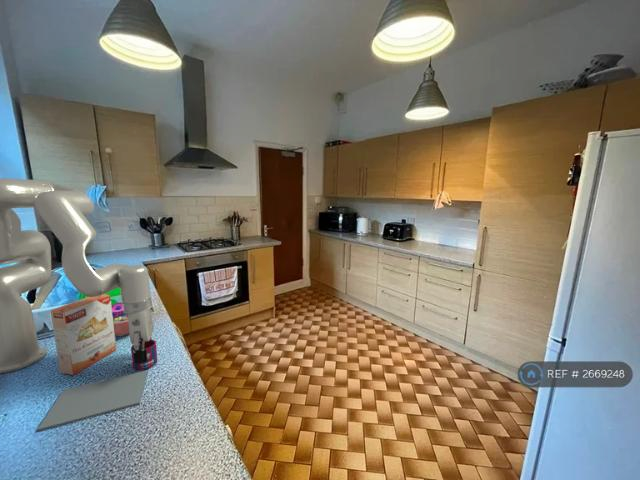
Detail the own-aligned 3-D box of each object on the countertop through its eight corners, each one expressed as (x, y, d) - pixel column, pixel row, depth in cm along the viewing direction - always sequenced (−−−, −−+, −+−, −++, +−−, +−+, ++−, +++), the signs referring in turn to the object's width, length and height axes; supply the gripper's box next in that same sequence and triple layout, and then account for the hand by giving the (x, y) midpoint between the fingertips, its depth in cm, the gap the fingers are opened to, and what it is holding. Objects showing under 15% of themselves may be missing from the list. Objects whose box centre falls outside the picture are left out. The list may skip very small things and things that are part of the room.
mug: (135, 373, 81) (133, 352, 80) (128, 360, 88) (126, 341, 87) (160, 364, 86) (158, 344, 85) (151, 352, 93) (149, 334, 92)
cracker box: (74, 376, 80) (64, 312, 77) (59, 373, 81) (48, 309, 78) (118, 350, 94) (110, 294, 90) (104, 348, 95) (96, 292, 91)
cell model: (100, 350, 93) (96, 320, 91) (92, 330, 107) (88, 303, 105) (155, 333, 105) (152, 306, 103) (141, 316, 119) (139, 292, 117)
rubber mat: (37, 431, 62) (37, 429, 62) (64, 391, 74) (63, 389, 74) (139, 404, 70) (139, 402, 70) (148, 372, 83) (147, 370, 82)
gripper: (147, 313, 77) (153, 366, 80) (155, 293, 93) (160, 338, 96) (115, 318, 74) (123, 373, 77) (129, 296, 90) (135, 343, 93)
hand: (144, 353), depth 86 cm, fingers open, 9 cm apart
